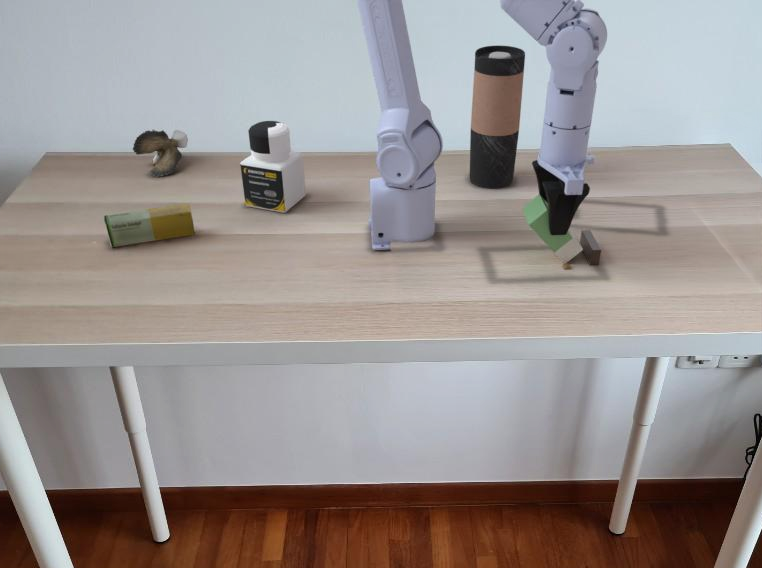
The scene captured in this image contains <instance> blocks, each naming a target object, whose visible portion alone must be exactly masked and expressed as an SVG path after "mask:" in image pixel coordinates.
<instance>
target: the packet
mask: <svg viewBox="0 0 762 568" xmlns="http://www.w3.org/2000/svg"><path fill="white" fill-rule="evenodd" d="M521 211H522V213H523V215H524V218H525V220H526V222H527V225H528V226H529V227H530V228H531V230H532V231H534V233H535V234H536V235H537V236H538V237H539V238H540V239H541V240H542V242H544V243H545V244H546V246H547V247H548V248H549V249H550V250H551V251H552V252H553V254H555V255H556V256H557V258H558V259H559V260H560V261H561V262H562V263H563V264H564V263H568V262H570V261H571V260H573V258H575V257H576V256H577V255H579V254H580V253H581V252H583V251H582V250H583V249H582V247H581V245H580V240H579V239H578V237H577V235H576V233H575V232H574V231H573V229H572V228H571V226H570V227H569V230H568V232H567V234H566V235H551V234H550V230H549V209H548V203H547V202H546V201H545V200H544V198H543V197H542V196H541V195H540V194H539V193H538V195H536V196H535V197H534V198H532V199H531V200H530V201H529V202H528V203H527V204H526V205H524V206H523V207H522V208H521Z"/></svg>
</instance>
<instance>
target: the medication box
mask: <svg viewBox="0 0 762 568" xmlns="http://www.w3.org/2000/svg"><path fill="white" fill-rule="evenodd" d="M103 221H104V225H105V230H106V234H107V238H108V241H109V245H110V247H111V249H113V248H115V247H121V246H127V245H128V246H129V245H136V244H140V243H147V242H154V241H161V240H167V239H174V238H179V237H186V236H192V235H196V234H197V232H196V230H195V224H194V219H193V213H192V208H191V206H190V204H189V203H182V204H181V203H180V204H176V205H175V204H174V205H169V206H161V207H153V208H147V209H140V210H135V211H128V212H122V213H114V214H107V215H104V216H103Z"/></svg>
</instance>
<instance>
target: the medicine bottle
mask: <svg viewBox="0 0 762 568" xmlns="http://www.w3.org/2000/svg"><path fill="white" fill-rule="evenodd" d="M248 139H249V147H250V154H251V155H249V156H247V157H246V158H244V159H243V160H241V162H240V163H239V165H240V173H241V180H242V189H243V197H244V204H245V206H246V207H249V208H254V209H260V210H266V211H271V212H276V213H277V212H278V213H282V214H286V213H287V212H288V211H289V210H290V209H292V208H293V207H294V206H296V204H297V203H299V202H300V201H301V200H302V199H304V198H305V197H306V194H307V192H306V180H305V179H306V178H305V166H304V154H303V153H302V152H299V151H294V150H292V147H291V135H290V127H289V126H288V125H287V124H286V123H284V122H280V121H277V120H265V121H264V120H263V121H259V122H256V123H254V124H253V125H250V127H249V129H248Z"/></svg>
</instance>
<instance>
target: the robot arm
mask: <svg viewBox="0 0 762 568" xmlns="http://www.w3.org/2000/svg"><path fill="white" fill-rule="evenodd" d="M356 1H357V5H358V11H359V14H360V21H361V23H362V28H363V33H364V37H365V41H366V46H367V51H368V56H369V60H370V65H371V69H372V75H373V78H374V83H375V88H376V91H377V92H376V93H377V97H378V101H379V106H380V111H381V113H380V117H379V122H378V126H377V129H376V134H375V135H376V141H377V152H376V158H375V164H376V167H377V168H376V169H377V171H378V174H379V175H380V177H375V178H370V179H369V207H370V208H369V210H370V211H369V213H370V217H368V219H367V220H368V231H370V236H371V247H372V248H371V249H372V250H374V251H389V250H392V248H391V242H399V243H400V242H401V243H419V242H423V241H426V240H428V239H430V238H432V237H433V236H434V235H435V230H436V229H435V227H436V226H435V225H436V191H437V190H436V189H437V187H436V186H437V173H436V170H435V162H436V161H437V160H439V158H440V157H441V154H442V152H443V147H444V142H443V137H442V134H441V132H440V130H439V129H438V127H437V126H436V124H435V122H434V120H433V117H432V113H431V112H432V111H431V109H430V108H429V107H428V106H427V105H426V104H425V103H424V102H423V100H422V99H421V93H420V87H419V84H418V83H419V82H418V77H417V71H416V67H415V63H414V58H413V57H414V56H413V51H412V47H411V41H410V36H409V31H408V25H407V20H406V14H405V10H404V9H405V8H404V5H403V0H356ZM499 4H500V9H501V10H503V11H504V12H505V13H506V14H507V16H509V17H510V18H511V19H512V20H513V21H515V23H516V24H518V26H520V27H521V28H522V29H523V30H524V31H525V32H526V33H527V34H528V35H529V36H530V37H531V38H533V39H534V40H535V41H536V42H537V43H538V44H539V45H540V46H543V47H545V55H546V58H547V61H548V63H549V65H550V73H549V74H550V75H549V79H548V82H547V91H546V98H545V106H544V113H543V114H544V115H543V124H542V133H541V141H540V148H539V149H540V150H539V152H538V155H537V159H536V160H532V163H531V165H532V168H533V171H534V174H535V177H536V182H537V187H538V195H539V194H540V195H541V196H542V197H543V198H544V200H545V201H546V202H547V203H548V209H549V230H550V234H551V235H566V234H567V232H568V230H569V227H570V228H571V226H572V225H571V224H572V222H573V220H574V217H575V215H576V213H577V211H578V209H579V207H580V206H581V204H582V203H583V201H584V200H585V199H586V198H587V197H588V196H589V194H590V191H591V187H590V185H589V184H588V183H587V182H585V178H584V174H585V171H586V168H587V166H588V165H594V164H595V163H596V157H595V156H594V154H592V153H588V152H587V151H588V145H589V139H590V132H591V128H592V127H591V126H592V119H593V114H594V106H595V99H596V93H597V86H598V84H597V78H598V75H599V65H600V61H599V60H598V58H599V57H600V55H601V54H602V52H603V51H604V49H605V48H606V47H605V46H606V44H607V40H608V29H607V26H606V24H605V21H604V20H603V18H602V17H601V15H600V14H599V12H598V11H597V10H595V9H592V8H587V7H584V6H585V3H584V2H583V1H582V0H499Z"/></svg>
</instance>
